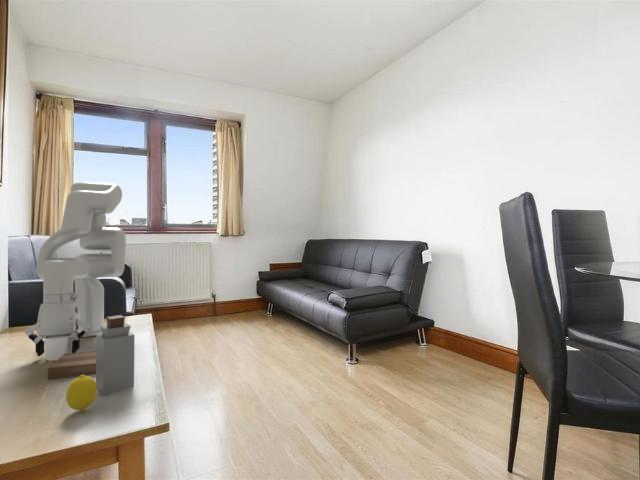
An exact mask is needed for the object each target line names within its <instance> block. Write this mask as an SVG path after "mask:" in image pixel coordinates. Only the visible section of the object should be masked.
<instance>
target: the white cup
mask: <svg viewBox="0 0 640 480" xmlns="http://www.w3.org/2000/svg"><path fill="white" fill-rule="evenodd" d="M43 340H44V349H45V356H46V360H47V361H50V362H51V361H57V360H58V359H59V358H60V357H62V356H63V355H64V354H67V353H71V351H70V350H71V346H72V336H71V335H70V334H67V335H54V336H45V337H44V338H43Z"/></svg>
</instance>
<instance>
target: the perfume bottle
mask: <svg viewBox="0 0 640 480" xmlns="http://www.w3.org/2000/svg"><path fill="white" fill-rule="evenodd" d="M100 327H101V331H102V334H97V335H96V336H95V337H96V338H95V343H96V344H95V351H96V374H95V382H96V385H97V392H99V394H101V396H103V397H106V396H110V395H112V394H118V393H119V392H123V391H127V390H130V389H134V388H135V334H134V333H133V332H130V329H131V325H130V324H128V323H126V322H125V316H123V315H121V314H119V315H112V316H106V324H104V325H103V326H100ZM133 387H134V388H133Z"/></svg>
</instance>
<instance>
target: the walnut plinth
mask: <svg viewBox="0 0 640 480" xmlns="http://www.w3.org/2000/svg"><path fill="white" fill-rule="evenodd" d="M91 374H94V375H96V350H91V351H81V352H79V351H77V352H75V353H72V352H70V353H67V354H64V355H63V356H62V357H60V358H59V359H58V360H55V361H54V362H53V363H52V364H51V365H50V366H49V367H48V368H47V380H55V379H56V380H57V379H64V378H73V377H79V376H80V375H85V376H92V375H91Z"/></svg>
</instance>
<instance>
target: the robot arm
mask: <svg viewBox="0 0 640 480" xmlns="http://www.w3.org/2000/svg"><path fill="white" fill-rule="evenodd" d="M122 198H123V192H122V188H121V186H119V185H118V184H117V183H110V182H109V183H108V182H96V181H93V182H92V181H81V182H80V181H79V182H78V181H77V182H74V183H73V184H72V185H71V186H70V192H69V193H68V195H67V196H66V201H65V206H64V210H63V211H64V212H63V215H62V222H61V226H60V229H58V230H57V231H56V232H54V233H53V234H52V235H50V236H49V237H48V238H47V239H46V240H45V241H44V242H43V244H42V245H41V247H40V249H39V253H38V258H37V262H36V269H35V270H36V271H35V272H36V275H37V277H38V278H39V279H41V280H43V282H42V283H43V286H42V289H43V292H42V293H43V295H42V296H43V297H42V298H43V299H42V300H43V301H42V302H43V303H40V306H39V310H38V315H37V322H36V323H35V324H33V325H31V326H29V327H27V328H25V329H24V333H25V335H26V336H27V337H28V339H30V340H31V341H32V342H33V344H35V354H36V356H37V357H40V356H42V355H43V354H45V340H44V337H46V336H54V335H67V334H70V335H71V336H72V337H71V339H72V338H73V339H72V340H71V353H78V352H79V351H78V350H80V348H81V347H80V346H81V338H88V337H89V338H90V337H96V335H97V334H102V331H101V327H100V326H103V325H105V324H104V322H105V287H104V285H103V283H101V281H100V279H99V278H118V277H121V276H122V275H123V274H124V271H125V262H126V245H127V241H126V240H127V238H126V234H125V231H124V230H123V228H119V227H110V226H109V227H107V226H106V225H107V223H106V222H107V215H108V214H112V213H113V212H114V211H115V210H116V209H117V207H118V206H119V204H120V203H121V201H122ZM76 240H79V241H78V242H79V243H78V244H79V247H80V249H82V250H86V251H102V252H103V251H104V252H105V251H109V252H111V253H83V254H82V253H81V254H79V255H76V256H75V257H54V255H55V254H56V252H57V250H59V249H60V248H61V247H63V246H64V245H66V244H68V243H72V242H74V241H76ZM35 329H36V333H34V330H35Z"/></svg>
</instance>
